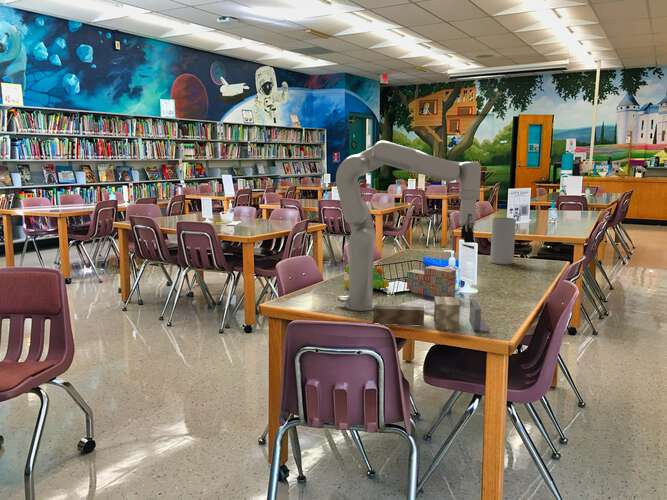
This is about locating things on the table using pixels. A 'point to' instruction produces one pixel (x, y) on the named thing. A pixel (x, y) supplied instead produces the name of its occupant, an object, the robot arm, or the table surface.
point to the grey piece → (476, 317)
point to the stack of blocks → (432, 281)
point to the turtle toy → (377, 278)
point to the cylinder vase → (503, 240)
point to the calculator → (421, 305)
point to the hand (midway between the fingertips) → (466, 240)
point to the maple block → (446, 313)
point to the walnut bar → (398, 315)
